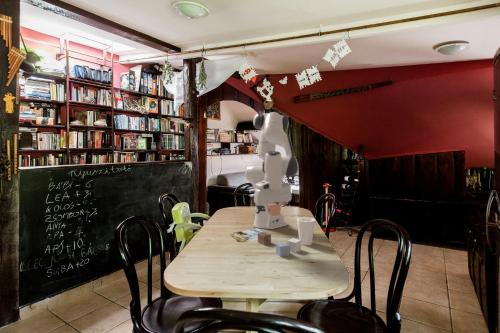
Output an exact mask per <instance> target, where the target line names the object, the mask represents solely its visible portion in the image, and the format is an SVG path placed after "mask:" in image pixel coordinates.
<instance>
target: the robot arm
mask: <svg viewBox="0 0 500 333" xmlns="http://www.w3.org/2000/svg"><path fill="white" fill-rule="evenodd" d="M252 123H253V128H255V130H259V131H260V130H261V131H260V133H259V139H258V144H257V146H258V148H257V156H258V158H259V159H261V160H262V162H261V163H262V164H261V165H258V164H257V165H256V164H254V165H250V166H247V167H246V168H245V169H246V170H245V172H244V173H245V174H244V175H245V178H246V180H247V181H248V182H249V183H250V184H251V185H252V187H253V189H254V194H253V202H254V203H255V204H254V205H255V206H254V211H255V216H254V221H253V227H255V228H258V229H267V230H273V229H278V228H282V227H286V226H288V225H289V223H288V222H287V221H285V218H284V215H283V214H282V213H281V212H280V215H278V216H270V215H267V214H266V212H270V209H269V208H268V207H267V206H268V204H274V203H275V204H278V205H280V211H281V210H282V209H281V208H282V206H283V204H284V202H290V201H291V200H292V190H291V189H292V188H291V187H292V186H291V184H290V183H289V182H285V183H284V182H283V180H284V179H285V177H294V176H295V175H296V174H297V173H298V172H299V163H298V161H297V160H298V159H297V158H296V155H295V151H294V147H293V143H292V139H291V137H290V135H289V134H288V133H286V131H287V130H288V128H289V118H288V116H286V115H284V114H282V115H281V114H279V113H278V112H276V111H273V112H272V111H271V112H269V113H267V112H266V113H265V112H257V113H256V114H255V115H254V116H253V120H252ZM277 146H279V147H281V148H283V149H284V151H285V154H286V156H285V157H284V156H282V154H281V152H280V151H277V150H276V147H277Z"/></svg>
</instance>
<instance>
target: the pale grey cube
mask: <svg viewBox="0 0 500 333" xmlns="http://www.w3.org/2000/svg"><path fill="white" fill-rule="evenodd" d="M286 243H287V244H289V245H290V252H293V253H295V254H296V253H297V252H301V251H302V245H301V240H299V238H294V237H292V238H290V239H288V240H287V241H286Z"/></svg>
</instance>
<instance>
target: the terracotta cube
mask: <svg viewBox="0 0 500 333" xmlns="http://www.w3.org/2000/svg"><path fill="white" fill-rule="evenodd" d="M267 207H268V208H269V209H270V212H266V214H267V215H270V216H278V215H280V213H281V210H280V205H279V203H273V204H268V206H267Z"/></svg>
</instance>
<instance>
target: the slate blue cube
mask: <svg viewBox="0 0 500 333" xmlns="http://www.w3.org/2000/svg"><path fill="white" fill-rule="evenodd" d="M275 254H276V255H278V257H280V258H282V257H287V256H288V257H289V256H291V251H290V245H289V244H287V241H283V242H276V243H275Z"/></svg>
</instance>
